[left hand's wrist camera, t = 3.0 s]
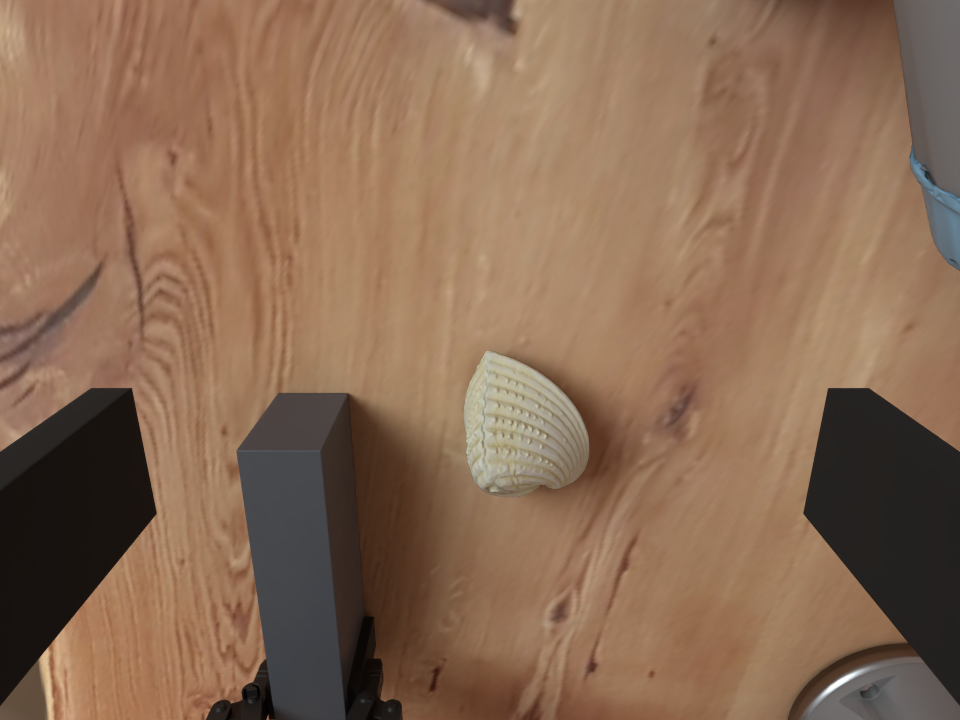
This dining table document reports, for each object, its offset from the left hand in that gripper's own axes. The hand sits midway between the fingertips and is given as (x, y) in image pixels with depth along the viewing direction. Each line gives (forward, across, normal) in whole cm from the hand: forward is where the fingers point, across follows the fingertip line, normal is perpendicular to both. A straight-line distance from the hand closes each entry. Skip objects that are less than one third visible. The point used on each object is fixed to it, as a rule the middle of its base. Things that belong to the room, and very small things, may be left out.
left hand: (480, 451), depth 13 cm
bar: (+28, -11, -22) cm, 38 cm away
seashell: (+28, +3, -13) cm, 31 cm away
